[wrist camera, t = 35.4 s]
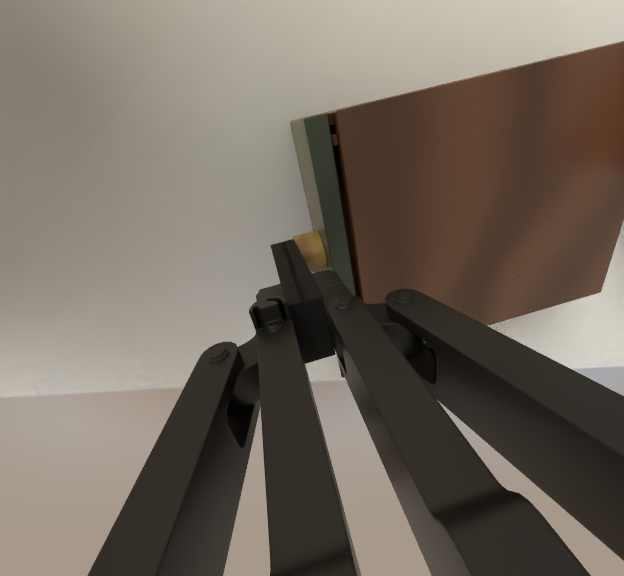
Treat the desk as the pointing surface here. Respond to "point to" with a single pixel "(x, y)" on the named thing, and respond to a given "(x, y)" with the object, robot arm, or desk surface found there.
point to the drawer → (324, 201)
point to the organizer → (490, 186)
